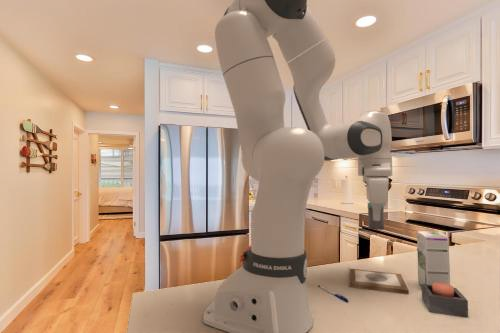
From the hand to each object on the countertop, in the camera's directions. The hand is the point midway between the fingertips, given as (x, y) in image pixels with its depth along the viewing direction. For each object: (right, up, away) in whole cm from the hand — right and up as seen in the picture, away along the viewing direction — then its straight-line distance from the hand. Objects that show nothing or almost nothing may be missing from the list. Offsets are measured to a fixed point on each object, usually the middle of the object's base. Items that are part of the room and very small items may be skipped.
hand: (375, 218), depth 78 cm
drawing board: (0, -18, -1) cm, 18 cm away
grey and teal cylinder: (0, -3, 0) cm, 3 cm away
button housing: (+8, -17, -15) cm, 24 cm away
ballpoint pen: (-15, -18, -8) cm, 24 cm away
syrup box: (+13, -18, -5) cm, 22 cm away
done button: (+8, -15, -15) cm, 23 cm away
